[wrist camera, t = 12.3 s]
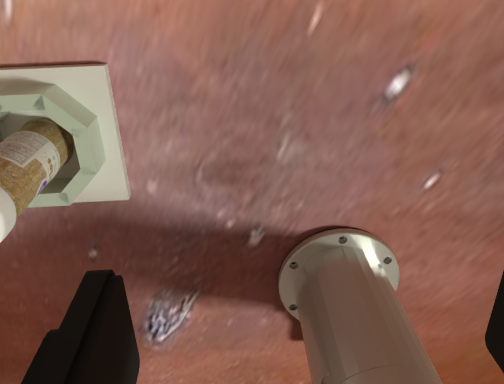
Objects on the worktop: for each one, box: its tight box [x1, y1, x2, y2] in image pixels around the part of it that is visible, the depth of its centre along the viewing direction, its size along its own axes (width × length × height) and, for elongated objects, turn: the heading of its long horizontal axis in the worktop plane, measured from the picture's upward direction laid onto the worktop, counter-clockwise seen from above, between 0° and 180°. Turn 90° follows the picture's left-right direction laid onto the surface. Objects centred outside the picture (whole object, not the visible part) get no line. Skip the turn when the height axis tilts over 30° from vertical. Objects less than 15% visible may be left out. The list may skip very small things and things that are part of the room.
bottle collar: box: [0, 63, 131, 208], centre depth 36 cm, size 12×12×4 cm
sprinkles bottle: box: [0, 118, 74, 243], centre depth 31 cm, size 5×5×13 cm
